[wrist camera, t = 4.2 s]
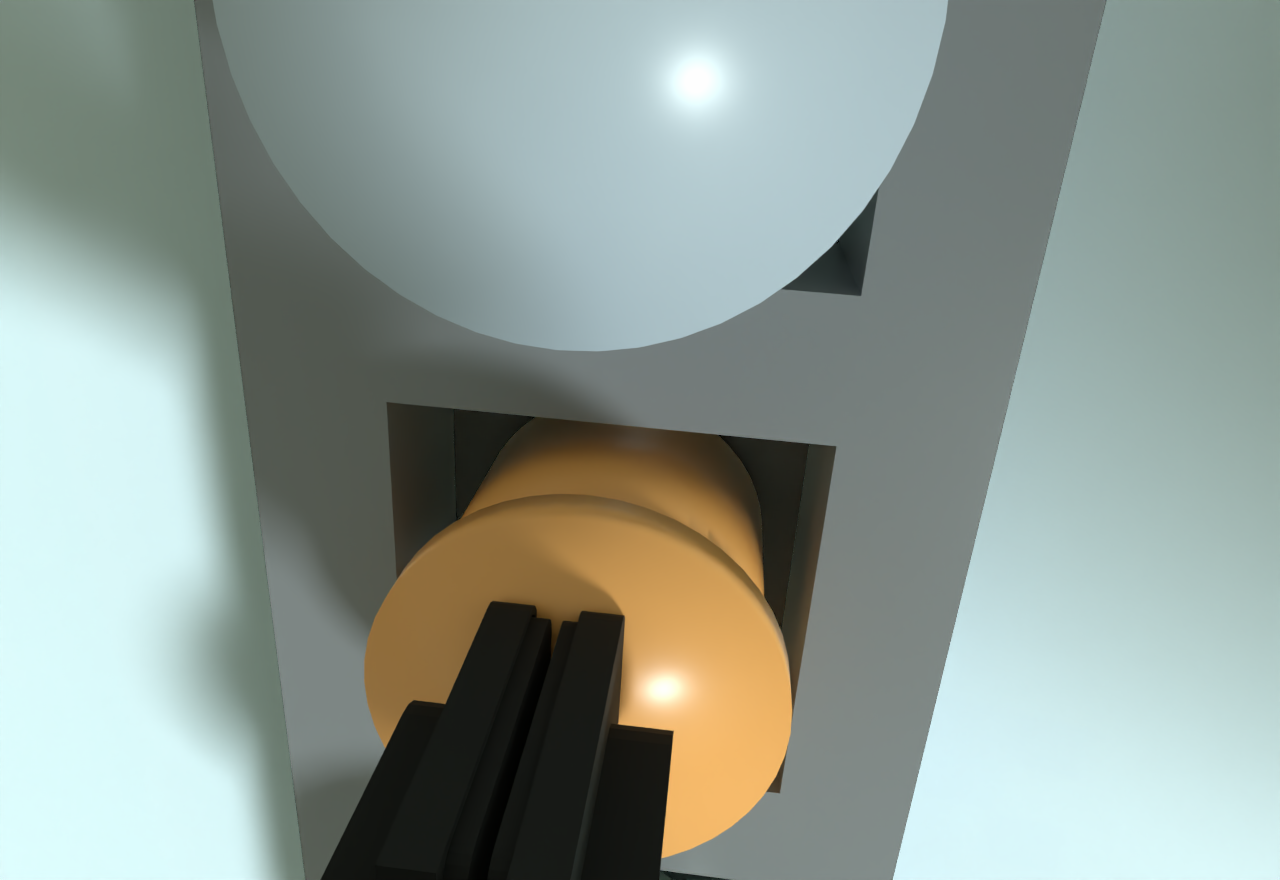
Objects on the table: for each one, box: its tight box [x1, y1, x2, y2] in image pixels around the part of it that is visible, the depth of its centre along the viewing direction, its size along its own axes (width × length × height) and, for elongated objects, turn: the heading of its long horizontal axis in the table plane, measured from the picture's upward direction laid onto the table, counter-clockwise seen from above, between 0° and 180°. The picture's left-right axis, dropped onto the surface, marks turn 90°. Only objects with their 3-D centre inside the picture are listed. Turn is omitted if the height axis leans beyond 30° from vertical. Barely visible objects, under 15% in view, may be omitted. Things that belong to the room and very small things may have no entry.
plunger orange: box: [364, 417, 792, 858], centre depth 14 cm, size 5×5×5 cm
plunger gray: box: [213, 0, 948, 351], centre depth 9 cm, size 5×5×5 cm
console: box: [194, 0, 1106, 880], centre depth 15 cm, size 10×24×3 cm, turn 176°
